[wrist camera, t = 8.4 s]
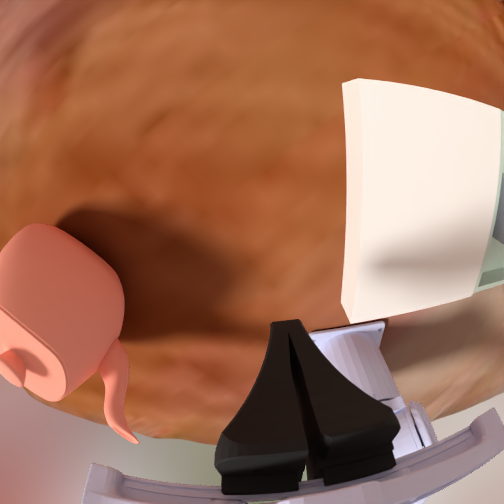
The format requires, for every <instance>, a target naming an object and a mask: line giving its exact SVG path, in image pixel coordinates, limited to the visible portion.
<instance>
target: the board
mask: <svg viewBox="0 0 504 504" xmlns="http://www.w3.org/2000/svg"><path fill="white" fill-rule="evenodd" d="M342 90H343V101H344V115H345V133H346V162H347V208H346V238H345V256H344V271H343V283H342V294H341V304H342V306H343V308H344V310H345V312H346V315H347V317H348V319H349V321H350V323H351V324H352V323H358V322H363V321H369V320H374V319H379V318H384V317H389V316H394V315H399V314H403V313H408V312H412V311H417V310H421V309H425V308H429V307H433V306H437V305H441V304H445V303H449V302H453V301H456V300H460V299H463V298H467V297H470V296H472V294H473V291H474V288H475V285H476V282H477V279H478V276H479V272H480V269H481V266H482V262H483V258H484V255H485V251H486V247H487V243H488V239H489V234H490V229H491V225H492V219H493V214H494V208H495V202H496V195H497V187H498V178H499V167H500V152H501V109H498V108H495V107H492V106H490V105H487V104H484V103H481V102H477V101H474V100H471V99H468V98H464V97H461V96H457V95H453V94H449V93H445V92H441V91H437V90H432V89H428V88H423V87H418V86H412V85H406V84H400V83H394V82H386V81H378V80H369V79H359V78H358V79H355V80H351V81H348V82H345V83H342Z"/></svg>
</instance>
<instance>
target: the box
mask: <svg viewBox="0 0 504 504" xmlns="http://www.w3.org/2000/svg"><path fill="white" fill-rule="evenodd" d="M502 173H504V111H501V152H500V167H499V178H498V187H497V195H496V202H495V208H494V214H493V219H492V225H491V229H490V234H489V239H488V243H487V247H486V251H485V255H484V258H483V262H482V266H481V269H480V272H479V276H478V279H477V282H476V285H475V288H474V291H473V293H475V292H478V291H481V290H485V289H488V288H491V287H495V286H498V285H501V284H504V245H503V244H502V243H500V242H499V241H498V240H496V239H495V238H493V237H492V235H493V230H494V226H495V221H496V215H497V210H498V204H499V197H500V190H501V181H502Z"/></svg>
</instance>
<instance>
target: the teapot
mask: <svg viewBox="0 0 504 504" xmlns="http://www.w3.org/2000/svg"><path fill="white" fill-rule="evenodd" d="M123 317H124V294H123V288H122V285H121V282H120V280H119V277H118V275H117V274H116V272H115V271H114V270H113V269H112V267H111V266H110V265H108V264H107V263H106V262H105V261H104V260H103V259H102V258H101V257H99V256H98V255H97V254H96V253H94V252H93V251H92V250H91V249H89V248H88V247H87V246H85V245H84V244H83V243H81V242H80V241H78V240H77V239H75V238H74V237H72V236H71V235H69V234H68V233H66V232H65V231H63V230H61V229H59V228H57V227H54V226H51V225H48V224H43V223H34V224H30V225H27V226H25V227H24V228H23V229H21V230H20V231H19V232H18V233H17V234H16V235H15V236H14V237H13V238H12V239H11V240H10V241H9V242H8V243H7V244H6V246H5V247H4V248H3V250H2V251H1V253H0V373H1V374H2V375H3V376H4V377H5V378H6V379H7V380H8V381H9V382H11V383H12V384H14V385H16V386H18V387H24V386H25V387H26V388H28V389H29V390H31V391H32V392H34V393H35V394H37V395H39V396H40V397H42V398H44V399H46V400H48V401H59V400H61V399H62V398H64V397H65V396H67V395H68V394H70V393H71V392H72V391H73V390H75V389H76V388H77V387H78V386H80V385H81V384H82V383H83V382H85V381H86V380H87V379H88V378H89V377H90V376H92V375H93V374H94V373H95V371H96V370H98V372H99V373H100V375H101V376H102V378H103V380H104V383H105V387H106V395H105V402H104V412H105V417H106V419H107V422H108V424H109V425H110V426H111V428H112V429H113V430H114V431H115V432H117V433H118V434H119V435H121V436H122V437H124V438H125V439H127V440H129V441H130V442H133V443H135V444H139V441H138V440H137V438H136V437H135V436H134V434H133V433H132V431H131V430H130V428H129V427H128V425H127V422H126V419H125V416H124V400H125V395H126V390H127V385H128V380H129V362H128V357H127V355H126V352H125V349H124V348H123V346H122V344H121V342H120V341H119V339H118V337H119V335H120V332H121V329H122V323H123Z"/></svg>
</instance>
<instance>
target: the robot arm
mask: <svg viewBox="0 0 504 504" xmlns="http://www.w3.org/2000/svg"><path fill="white" fill-rule="evenodd" d="M270 327H271V330H270V339H269V344H268V348H267V352H266V355H265V359H264V361H263V364H262V367H261V370H260V372H259V375H258V377H257V379H256V382H255V384H254V386H253V388H252V390H251V391H250V393H249V395H248V397H247V399H246V400H245V402H244V404H243V405H242V407H241V408H240V410H239V411H238V413H237V414H236V415H235V417H234V418H233V419H232V421H231V422H230V423H229V424H228V426H227V427H226V428H225V429H224V430H223V432H222V434H221V436H220V438H219V441H218V444H217V447H216V451H215V463H214V465H215V468H216V469H217V470H218V472H219V473H220V474H221V476H222V483H221V486H201V485H200V486H199V485H187V484H177V483H168V482H161V481H154V480H148V479H142V478H137V477H131V476H127V475H123V474H122V473H121V472H120V471H118V470H116V469H114V468H110V467H107V466H103V465H99V464H96V463H91V466H90V470H89V474H88V478H87V482H86V486H85V490H84V494H83V499H82V503H81V504H248V503H247V502H256V501H257V502H258V501H273V500H281V501H279V502H271V503H262V504H423V503H424V502H425V501H426V500H427V498H428V497H429V496H430V495H432V494H434V493H436V492H438V491H440V490H442V489H444V488H446V487H447V486H449V485H451V484H453V483H455V482H456V481H458V480H460V479H462V478H463V477H465V476H467V475H468V474H470V473H472V472H473V471H475V470H476V469H478V468H480V467H481V466H483V465H484V464H485V463H487V462H488V461H490V460H491V459H492V458H493V457H495V456H496V455H497V454H499V453H500V452H501V451H502V450H503V449H504V425H503V423H502V421H501V419H500V417H499V415H498V413H497V412H496V410H495V408H491V409H490V410H488V411H487V412H485V413H483V414H482V415H480V416H478V417H477V418H476V419H475V420H474V421H473V422H472V423H471V424H470V426H468V427H467V428H465V429H463V430H461V431H459V432H457V433H455V434H453V435H451V436H449V437H447V438H445V439H443V440H441V441H439V442H438V440H437V437H436V435H435V432H434V429H433V427H432V425H431V422H430V420H429V418H428V415H427V413H426V411H425V409H424V407H423V406H422V404H421V403H418V402H415V401H411V402H409V403H408V406H409V408H410V411H411V415H412V418H413V420H414V423H415V424H414V423H413V421H412V418H411V416H410V414H409V411H408V409H407V407H406V404H405V402H404V400H403V397H402V396H401V395H400V393H399V391H398V388H397V386H396V384H395V382H394V379H393V377H392V375H391V373H390V371H389V368H388V366H387V364H386V362H385V360H384V358H383V356H382V354H381V352H380V349H379V346H380V343H381V339H382V335H383V332H384V328H385V323H384V321H376V322H371V323H366V324H360V325H355V326H349V327H343V328H337V329H330V330H324V331H317V332H311V333H310V334H308V333H307V331H306V330H305V328H304V326H303V324H302V322H301V321H300V320H299V319H295V320H287V321H278V322H272V323H271V324H270ZM313 340H314V341H313ZM423 446H424V448H423ZM305 465H306V469H307V481H301V479H302V475H303V471H304V470H305Z"/></svg>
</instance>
